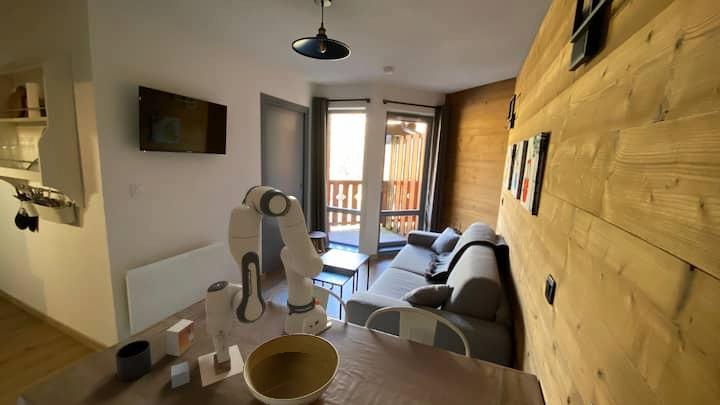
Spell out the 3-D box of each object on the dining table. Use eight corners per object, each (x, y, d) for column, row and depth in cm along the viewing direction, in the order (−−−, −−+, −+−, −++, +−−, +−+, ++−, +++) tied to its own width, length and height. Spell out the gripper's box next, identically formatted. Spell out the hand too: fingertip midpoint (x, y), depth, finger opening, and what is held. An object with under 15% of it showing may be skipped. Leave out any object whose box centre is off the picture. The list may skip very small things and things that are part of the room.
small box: (179, 357, 104) (177, 332, 103) (167, 354, 105) (165, 330, 104) (195, 343, 112) (194, 320, 110) (184, 341, 113) (182, 318, 111)
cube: (188, 373, 97) (188, 361, 96) (189, 383, 93) (189, 370, 92) (171, 379, 94) (171, 366, 94) (172, 389, 90) (171, 376, 90)
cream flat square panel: (236, 345, 113) (236, 344, 113) (246, 370, 100) (246, 369, 100) (198, 358, 104) (198, 357, 104) (202, 387, 92) (202, 386, 92)
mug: (132, 358, 103) (130, 336, 101) (158, 364, 100) (156, 342, 99) (104, 377, 93) (101, 354, 92) (132, 384, 91) (130, 361, 90)
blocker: (228, 361, 103) (228, 349, 102) (230, 370, 99) (230, 358, 98) (213, 366, 100) (213, 354, 100) (215, 375, 96) (215, 363, 96)
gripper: (233, 337, 95) (234, 371, 97) (224, 309, 111) (224, 339, 113) (213, 343, 91) (214, 379, 93) (206, 313, 108) (207, 344, 110)
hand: (220, 356), depth 104 cm, fingers closed
